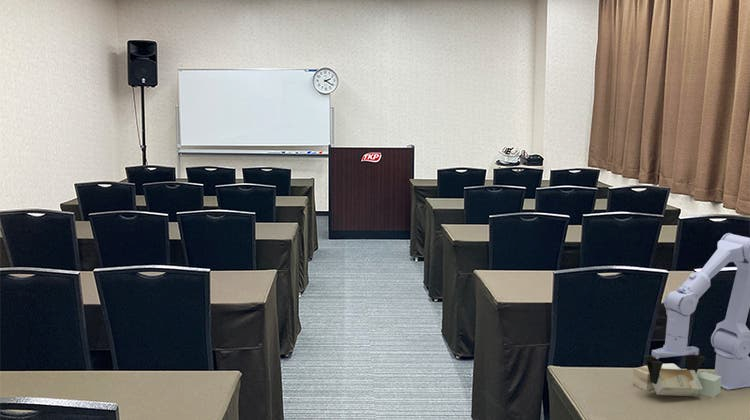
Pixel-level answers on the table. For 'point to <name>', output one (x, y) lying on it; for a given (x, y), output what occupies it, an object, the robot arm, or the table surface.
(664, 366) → the cube cream
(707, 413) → the table surface
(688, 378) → the skincare box
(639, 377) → the cube beech
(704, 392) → the cube sage
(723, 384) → the robot arm
